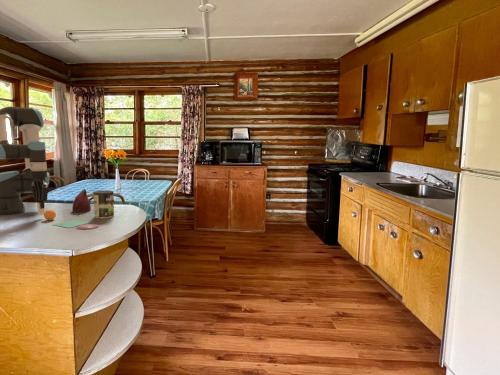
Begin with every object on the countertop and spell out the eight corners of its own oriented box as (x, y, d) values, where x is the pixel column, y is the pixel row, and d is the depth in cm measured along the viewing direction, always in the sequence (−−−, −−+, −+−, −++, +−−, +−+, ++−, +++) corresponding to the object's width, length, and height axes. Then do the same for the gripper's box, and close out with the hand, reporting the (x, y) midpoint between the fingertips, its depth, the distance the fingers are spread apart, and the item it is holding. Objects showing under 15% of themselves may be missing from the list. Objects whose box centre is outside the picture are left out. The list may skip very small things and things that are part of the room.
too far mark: (71, 227, 162) (71, 227, 162) (89, 223, 171) (89, 223, 171) (85, 230, 157) (85, 230, 157) (103, 226, 166) (103, 225, 166)
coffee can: (118, 215, 191) (117, 190, 189) (107, 219, 181) (106, 193, 179) (102, 214, 193) (101, 189, 191) (90, 218, 183) (89, 192, 181)
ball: (41, 220, 175) (41, 210, 175) (52, 218, 180) (51, 208, 179) (48, 221, 173) (47, 211, 172) (58, 219, 178) (58, 209, 177)
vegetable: (93, 215, 204) (100, 191, 203) (80, 216, 195) (86, 191, 193) (81, 209, 208) (87, 186, 206) (67, 210, 198) (73, 186, 196)
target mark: (52, 225, 166) (52, 224, 166) (74, 220, 177) (74, 219, 177) (68, 228, 161) (68, 227, 161) (90, 223, 172) (90, 222, 172)
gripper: (23, 170, 176) (26, 214, 178) (38, 171, 170) (41, 216, 173) (38, 169, 182) (41, 212, 185) (53, 170, 176) (55, 214, 179)
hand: (41, 214), depth 179 cm, fingers closed
